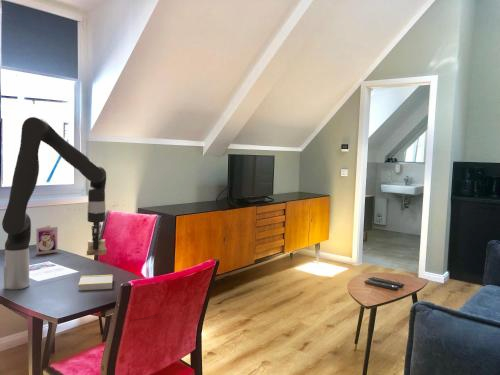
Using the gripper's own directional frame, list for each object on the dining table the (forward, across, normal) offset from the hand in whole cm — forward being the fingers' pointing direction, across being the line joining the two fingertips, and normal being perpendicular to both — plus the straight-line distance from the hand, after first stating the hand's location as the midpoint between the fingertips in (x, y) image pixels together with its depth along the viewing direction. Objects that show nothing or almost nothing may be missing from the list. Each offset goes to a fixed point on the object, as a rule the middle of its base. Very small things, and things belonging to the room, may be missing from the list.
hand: (96, 247), depth 185 cm
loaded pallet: (+3, 0, 0) cm, 3 cm away
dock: (+17, 0, 0) cm, 17 cm away
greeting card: (+18, -66, -32) cm, 76 cm away
